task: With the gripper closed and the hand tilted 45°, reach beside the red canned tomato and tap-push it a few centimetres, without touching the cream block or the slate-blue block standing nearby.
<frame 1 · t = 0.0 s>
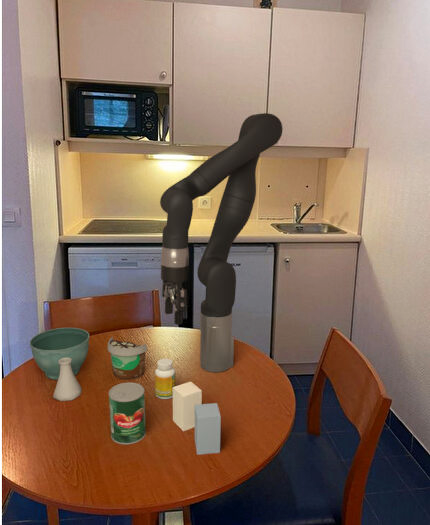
hand: (173, 318, 126), 17 cm above the table, tool pointing down, fingers open, 8 cm apart
canned tomato: (128, 434, 103), on the table
supplement bottle: (165, 395, 119), on the table
food container: (124, 376, 129), on the table
cream block: (187, 422, 107), on the table
slate-blue block: (207, 446, 99), on the table
flask: (67, 395, 119), on the table
flower pot: (62, 373, 130), on the table
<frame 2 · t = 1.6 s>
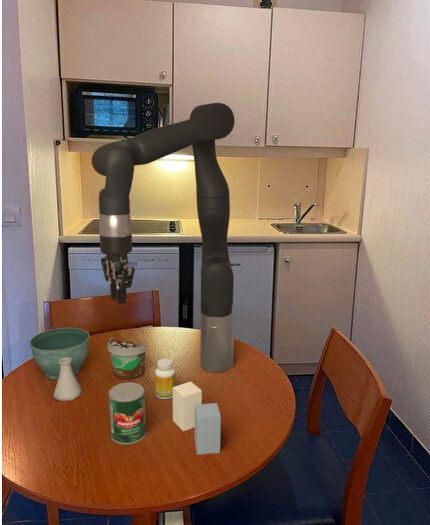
hand: (118, 301, 110), 27 cm above the table, tool pointing down, fingers open, 3 cm apart
nothing on the table moved.
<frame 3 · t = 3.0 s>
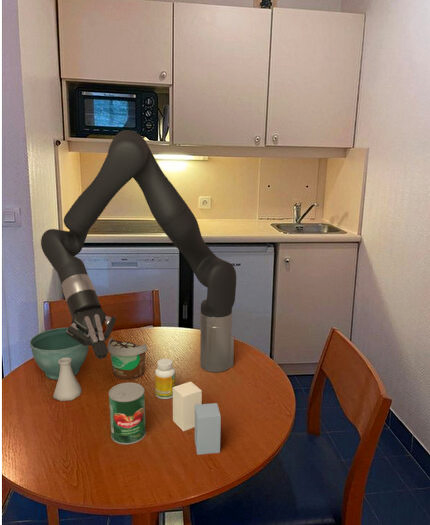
hand: (103, 357, 108), 15 cm above the table, tool tilted 45°, fingers closed
nothing on the table moved.
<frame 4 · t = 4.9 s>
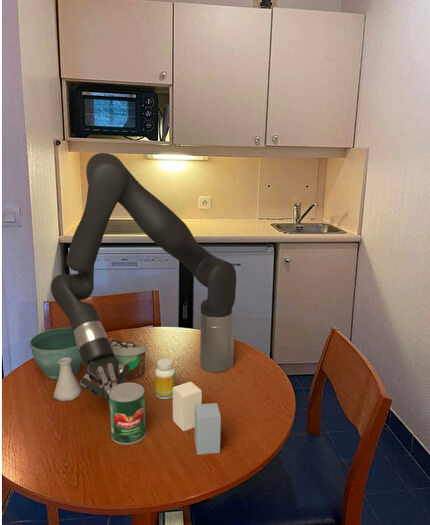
hand: (117, 409, 105), 4 cm above the table, tool tilted 45°, fingers closed
canned tomato: (128, 434, 103), on the table, touching gripper
everything else where it was.
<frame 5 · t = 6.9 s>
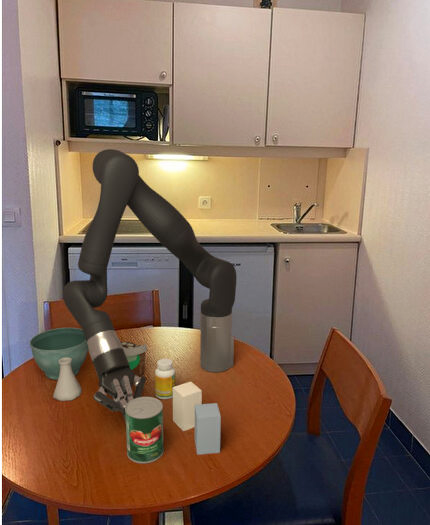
hand: (133, 424, 99), 4 cm above the table, tool tilted 45°, fingers closed
canned tomato: (145, 452, 97), on the table, touching gripper
everything else where it was.
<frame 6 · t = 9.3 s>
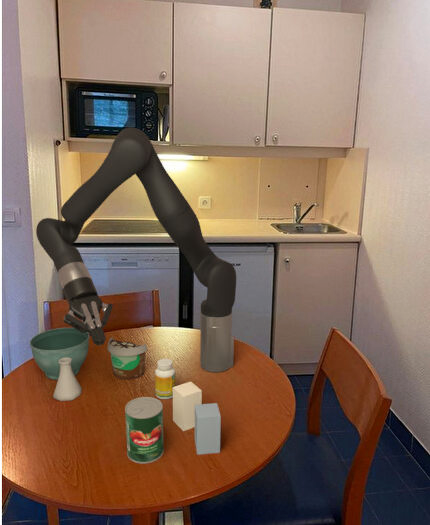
hand: (101, 343, 108), 18 cm above the table, tool tilted 45°, fingers closed
canned tomato: (145, 452, 97), on the table
everything else where it was.
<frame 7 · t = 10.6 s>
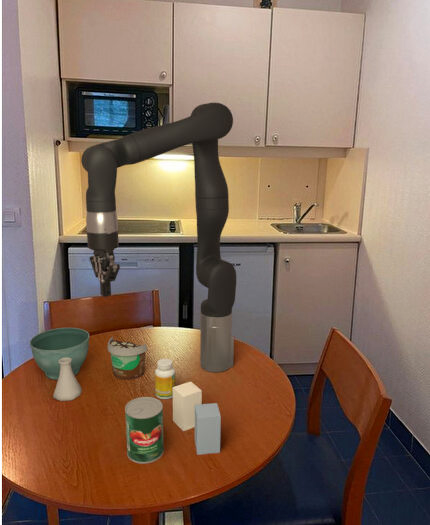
hand: (106, 295, 115), 27 cm above the table, tool pointing down, fingers closed
nothing on the table moved.
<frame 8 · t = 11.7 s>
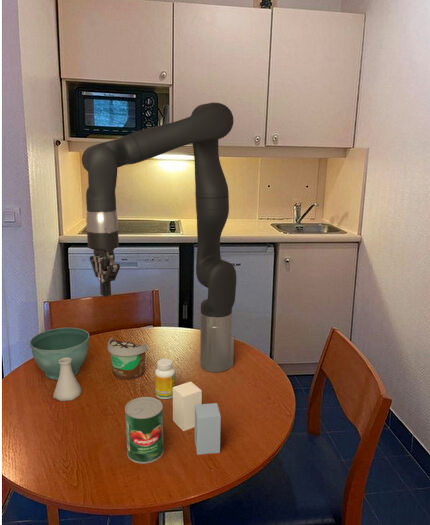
hand: (105, 295, 115), 27 cm above the table, tool pointing down, fingers closed
nothing on the table moved.
at the end: canned tomato moved 7.8 cm from its start; cream block moved 0.1 cm from its start; slate-blue block moved 0.1 cm from its start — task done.
